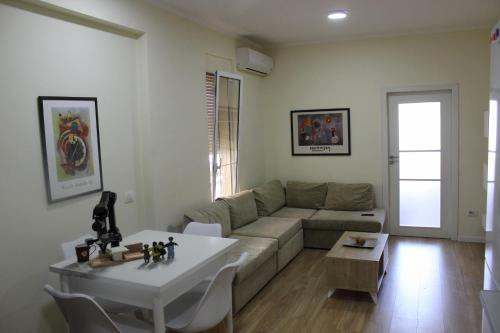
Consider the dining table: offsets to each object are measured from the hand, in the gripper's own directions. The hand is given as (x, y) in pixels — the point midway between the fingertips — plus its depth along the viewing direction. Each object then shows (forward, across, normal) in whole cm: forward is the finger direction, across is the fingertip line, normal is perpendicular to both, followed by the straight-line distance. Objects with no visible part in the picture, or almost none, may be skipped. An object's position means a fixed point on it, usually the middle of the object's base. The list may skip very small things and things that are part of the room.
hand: (103, 254), depth 242 cm
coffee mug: (+7, -6, +16) cm, 19 cm away
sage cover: (0, +9, +3) cm, 9 cm away
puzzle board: (+7, +11, +3) cm, 13 cm away
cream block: (+6, +9, +3) cm, 11 cm away
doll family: (+7, +30, -12) cm, 33 cm away
